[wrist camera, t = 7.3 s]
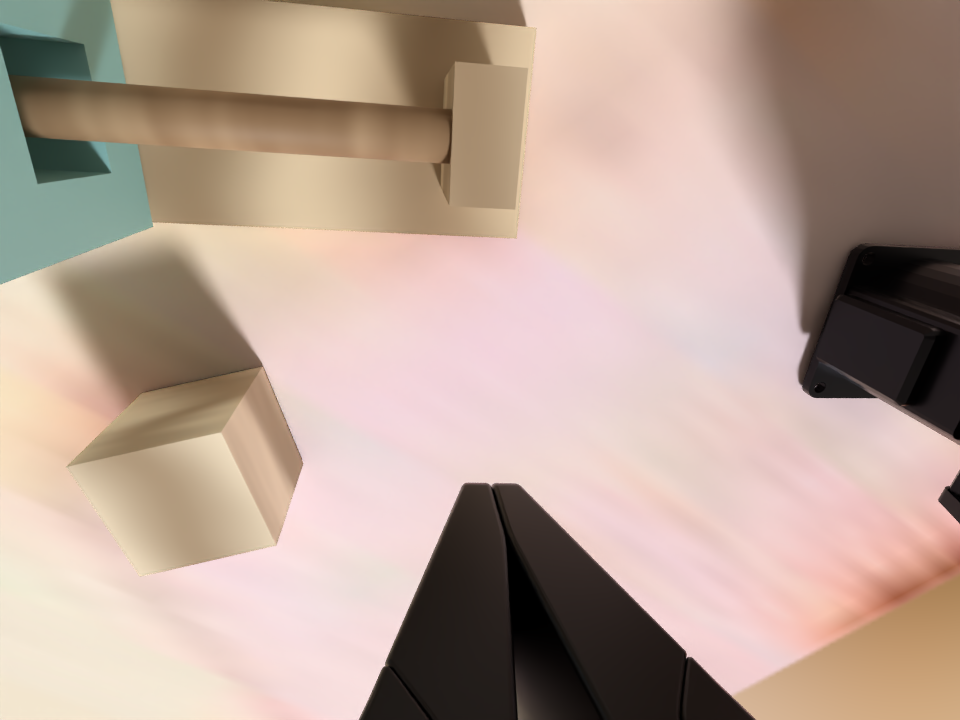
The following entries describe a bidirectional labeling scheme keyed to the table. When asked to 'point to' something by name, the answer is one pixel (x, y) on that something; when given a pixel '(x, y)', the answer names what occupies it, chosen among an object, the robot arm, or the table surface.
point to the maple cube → (193, 472)
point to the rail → (308, 116)
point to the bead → (62, 142)
